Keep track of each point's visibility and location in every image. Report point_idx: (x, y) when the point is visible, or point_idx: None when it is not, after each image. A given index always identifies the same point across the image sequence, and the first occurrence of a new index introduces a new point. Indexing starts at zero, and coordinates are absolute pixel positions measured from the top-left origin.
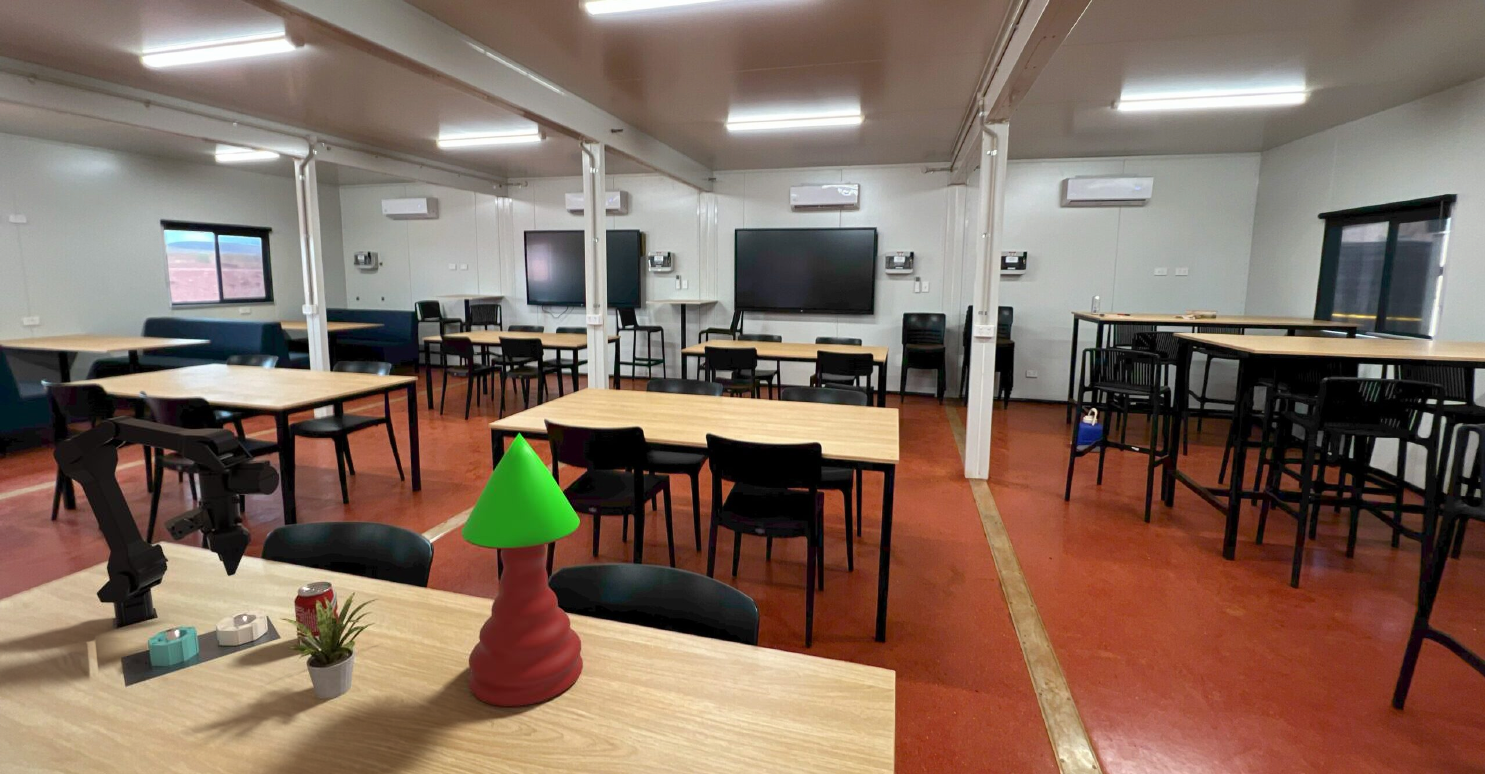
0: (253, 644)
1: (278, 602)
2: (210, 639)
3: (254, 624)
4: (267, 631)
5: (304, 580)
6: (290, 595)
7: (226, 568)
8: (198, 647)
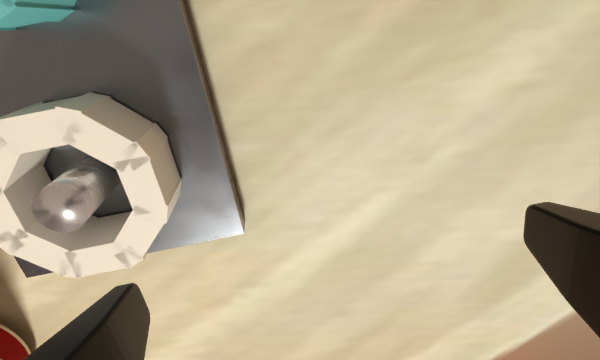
0: None
1: (379, 243)
2: (114, 65)
3: (3, 246)
4: None
5: (504, 299)
6: (412, 270)
7: (48, 348)
8: (2, 29)
